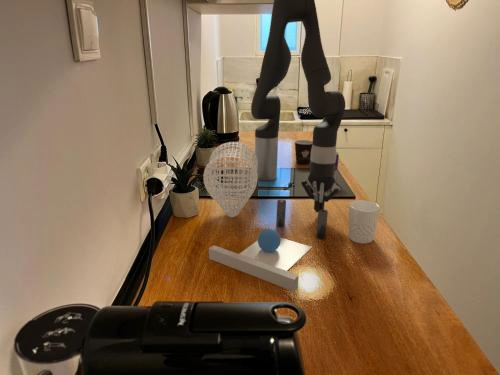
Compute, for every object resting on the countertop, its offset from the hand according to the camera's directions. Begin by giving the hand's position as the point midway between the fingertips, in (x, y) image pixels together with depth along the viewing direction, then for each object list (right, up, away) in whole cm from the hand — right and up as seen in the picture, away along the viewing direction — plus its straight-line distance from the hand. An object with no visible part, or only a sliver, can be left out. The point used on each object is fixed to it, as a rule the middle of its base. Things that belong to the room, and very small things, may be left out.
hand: (318, 211), depth 120 cm
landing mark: (-15, -9, -21) cm, 27 cm away
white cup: (+9, -7, -13) cm, 18 cm away
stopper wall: (-22, -12, -30) cm, 39 cm away
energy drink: (+10, +10, +32) cm, 35 cm away
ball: (-17, -6, -21) cm, 28 cm away
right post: (-2, -6, -13) cm, 15 cm away
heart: (-27, -2, 0) cm, 27 cm away
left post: (-13, -4, -6) cm, 15 cm away
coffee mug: (+4, +19, +55) cm, 59 cm away
